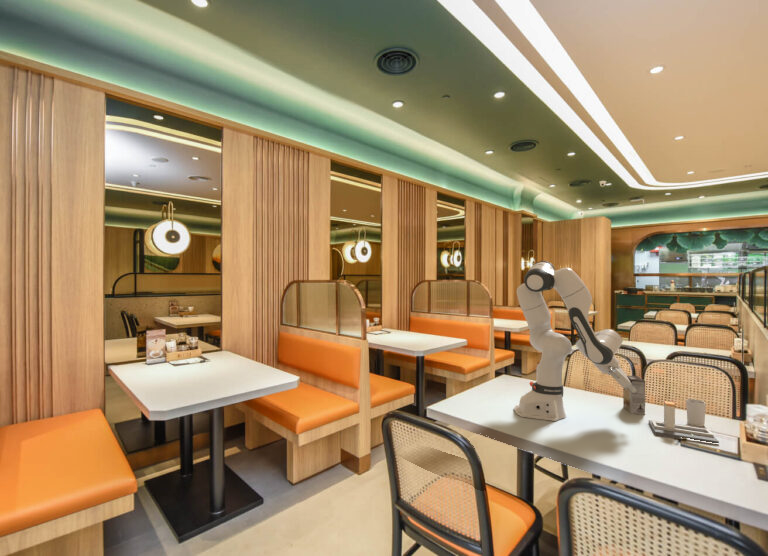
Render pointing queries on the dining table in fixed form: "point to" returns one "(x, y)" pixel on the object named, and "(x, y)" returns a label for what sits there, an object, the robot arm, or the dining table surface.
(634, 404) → the coffee box
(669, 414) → the fader
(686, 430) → the console
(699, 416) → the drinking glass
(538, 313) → the robot arm
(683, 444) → the dining table surface
